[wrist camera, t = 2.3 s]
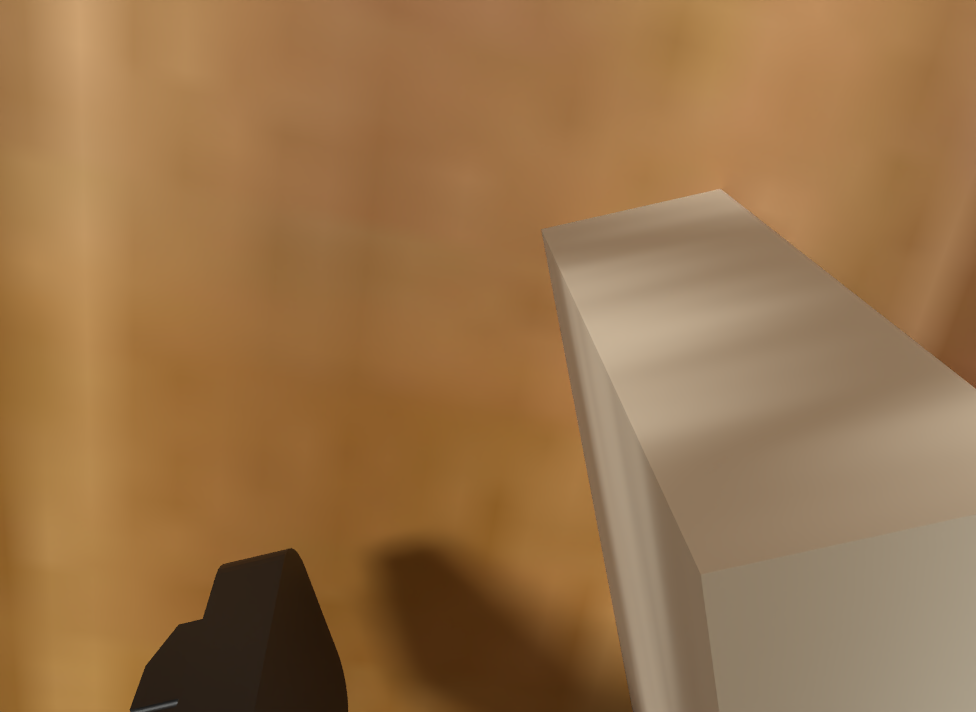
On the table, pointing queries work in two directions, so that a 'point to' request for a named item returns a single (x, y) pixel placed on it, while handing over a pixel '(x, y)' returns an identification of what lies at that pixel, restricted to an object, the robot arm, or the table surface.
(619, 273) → the pale wooden bar
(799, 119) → the table surface
